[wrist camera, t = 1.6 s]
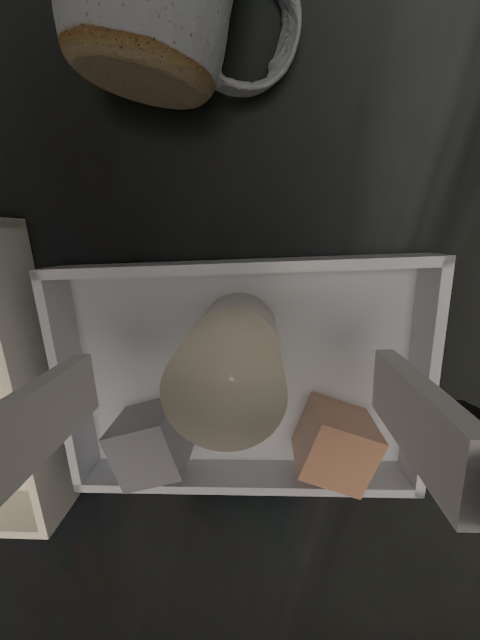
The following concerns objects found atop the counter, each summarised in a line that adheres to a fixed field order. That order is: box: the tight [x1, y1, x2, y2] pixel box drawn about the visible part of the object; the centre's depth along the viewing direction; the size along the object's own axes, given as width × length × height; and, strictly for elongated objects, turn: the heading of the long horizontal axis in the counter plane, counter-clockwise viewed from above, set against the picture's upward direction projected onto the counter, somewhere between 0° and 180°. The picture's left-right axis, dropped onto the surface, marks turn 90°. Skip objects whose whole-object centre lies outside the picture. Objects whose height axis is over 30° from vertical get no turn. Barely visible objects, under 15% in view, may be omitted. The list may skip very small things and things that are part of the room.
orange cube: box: [291, 391, 389, 500], centre depth 21 cm, size 4×4×4 cm
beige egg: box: [160, 293, 288, 452], centre depth 17 cm, size 5×5×9 cm
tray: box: [29, 253, 456, 498], centre depth 21 cm, size 15×23×3 cm, turn 92°
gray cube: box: [99, 398, 194, 494], centre depth 21 cm, size 4×4×4 cm
